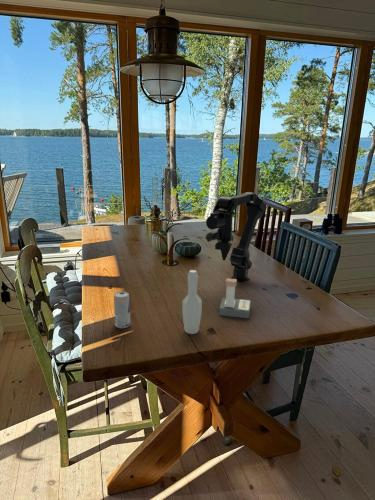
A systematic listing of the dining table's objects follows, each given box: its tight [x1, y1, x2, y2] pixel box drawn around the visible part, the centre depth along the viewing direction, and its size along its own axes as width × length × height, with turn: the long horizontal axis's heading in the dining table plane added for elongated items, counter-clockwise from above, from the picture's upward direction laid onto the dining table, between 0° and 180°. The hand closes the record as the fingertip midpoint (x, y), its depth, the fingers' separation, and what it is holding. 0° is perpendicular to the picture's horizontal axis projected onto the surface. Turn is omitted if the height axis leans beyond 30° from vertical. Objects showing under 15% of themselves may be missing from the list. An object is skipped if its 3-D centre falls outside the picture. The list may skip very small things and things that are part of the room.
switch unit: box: [218, 297, 252, 319], centre depth 140 cm, size 10×11×3 cm
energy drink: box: [113, 290, 131, 329], centre depth 126 cm, size 5×5×12 cm
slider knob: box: [224, 277, 238, 308], centre depth 136 cm, size 4×4×10 cm
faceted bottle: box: [181, 269, 203, 335], centre depth 122 cm, size 6×6×22 cm
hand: (224, 260), depth 160 cm, fingers closed
